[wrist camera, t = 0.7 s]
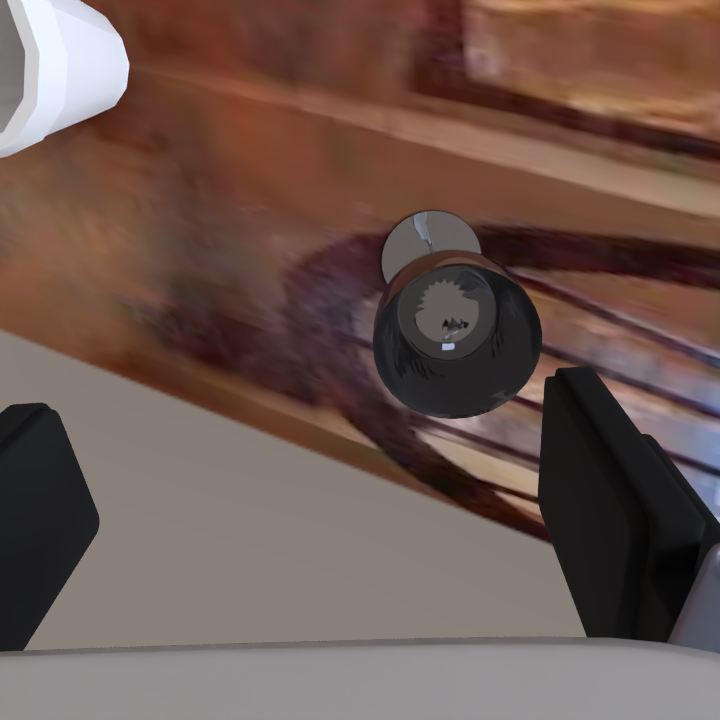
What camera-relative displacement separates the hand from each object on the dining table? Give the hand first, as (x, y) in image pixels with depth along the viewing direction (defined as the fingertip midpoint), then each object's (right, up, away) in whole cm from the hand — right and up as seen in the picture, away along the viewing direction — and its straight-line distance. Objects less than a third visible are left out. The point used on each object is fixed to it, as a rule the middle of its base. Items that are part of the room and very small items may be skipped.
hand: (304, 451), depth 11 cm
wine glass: (+6, +9, +29) cm, 31 cm away
